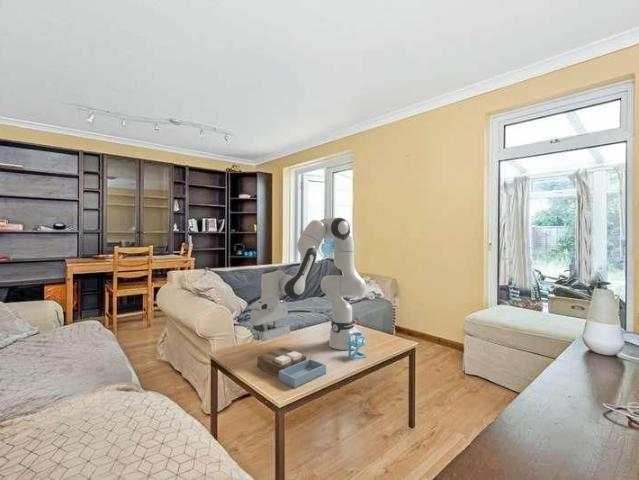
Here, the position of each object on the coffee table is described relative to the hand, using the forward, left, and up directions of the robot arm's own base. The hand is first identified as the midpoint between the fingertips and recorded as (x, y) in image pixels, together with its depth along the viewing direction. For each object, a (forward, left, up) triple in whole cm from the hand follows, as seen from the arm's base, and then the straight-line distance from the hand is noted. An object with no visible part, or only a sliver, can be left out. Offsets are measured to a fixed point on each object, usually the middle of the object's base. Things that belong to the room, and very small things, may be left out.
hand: (269, 330), depth 155 cm
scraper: (0, -4, -2) cm, 4 cm away
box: (0, +24, -15) cm, 28 cm away
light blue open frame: (-35, +27, -15) cm, 46 cm away
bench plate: (0, +10, -15) cm, 18 cm away
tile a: (-3, +14, -10) cm, 17 cm away
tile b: (+4, +14, -10) cm, 18 cm away
